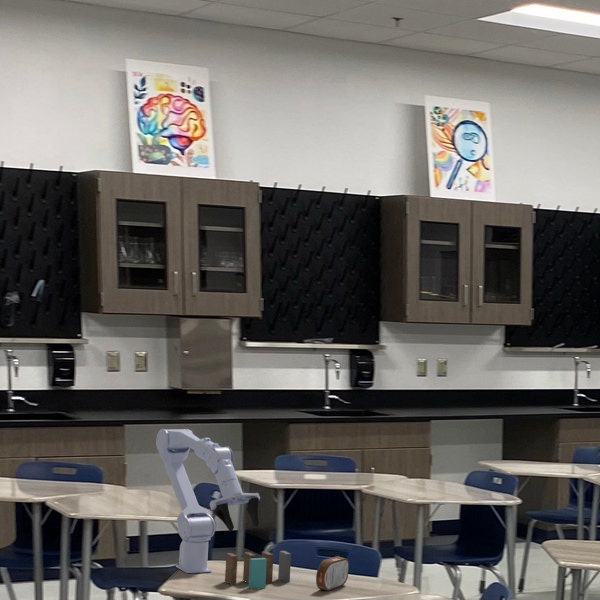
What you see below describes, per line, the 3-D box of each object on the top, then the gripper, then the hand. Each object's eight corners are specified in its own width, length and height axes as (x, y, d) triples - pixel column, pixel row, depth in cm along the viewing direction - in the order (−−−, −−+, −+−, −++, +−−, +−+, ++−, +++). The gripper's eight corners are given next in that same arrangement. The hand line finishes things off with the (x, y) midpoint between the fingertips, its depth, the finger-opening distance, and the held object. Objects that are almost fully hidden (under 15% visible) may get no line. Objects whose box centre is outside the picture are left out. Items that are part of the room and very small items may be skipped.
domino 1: (230, 585, 323) (232, 556, 324) (224, 581, 327) (226, 553, 328) (236, 584, 324) (237, 556, 324) (230, 581, 328) (231, 552, 328)
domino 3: (266, 583, 328) (268, 554, 328) (260, 579, 332) (262, 551, 332) (272, 582, 329) (273, 554, 329) (265, 579, 333) (267, 551, 333)
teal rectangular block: (248, 587, 321) (249, 558, 322) (262, 586, 323) (264, 558, 323) (250, 589, 320) (252, 559, 320) (265, 588, 322) (266, 559, 322)
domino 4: (284, 582, 330) (285, 554, 331) (278, 578, 334) (279, 551, 335) (289, 582, 331) (291, 553, 331) (283, 578, 335) (284, 550, 335)
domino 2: (248, 584, 326) (250, 555, 326) (242, 580, 330) (244, 552, 330) (254, 583, 326) (255, 555, 327) (248, 580, 330) (249, 552, 331)
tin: (340, 583, 333) (341, 553, 334) (350, 584, 332) (351, 555, 332) (314, 592, 320) (315, 561, 321) (324, 593, 319) (325, 562, 319)
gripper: (209, 481, 322) (224, 524, 315) (256, 473, 329) (272, 515, 322) (202, 494, 327) (217, 536, 320) (249, 486, 334) (264, 528, 327)
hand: (244, 527), depth 321 cm, fingers open, 7 cm apart
